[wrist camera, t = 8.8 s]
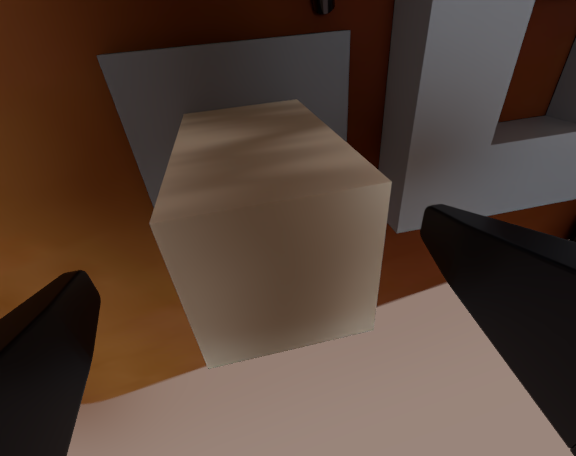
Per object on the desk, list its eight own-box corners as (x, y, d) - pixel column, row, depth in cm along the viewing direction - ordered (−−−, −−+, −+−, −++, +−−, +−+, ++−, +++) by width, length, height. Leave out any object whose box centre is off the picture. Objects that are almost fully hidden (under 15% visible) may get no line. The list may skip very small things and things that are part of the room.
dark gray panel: (344, 30, 12) (350, 30, 11) (339, 222, 17) (343, 228, 16) (101, 54, 11) (96, 55, 10) (174, 252, 16) (173, 259, 15)
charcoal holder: (735, -154, 11) (851, -194, 9) (575, 172, 19) (619, 190, 17) (409, -147, 10) (462, -192, 8) (374, 208, 17) (396, 233, 15)
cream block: (296, 99, 12) (391, 182, 6) (302, 196, 15) (373, 330, 8) (183, 114, 12) (149, 223, 5) (209, 212, 14) (208, 369, 8)
